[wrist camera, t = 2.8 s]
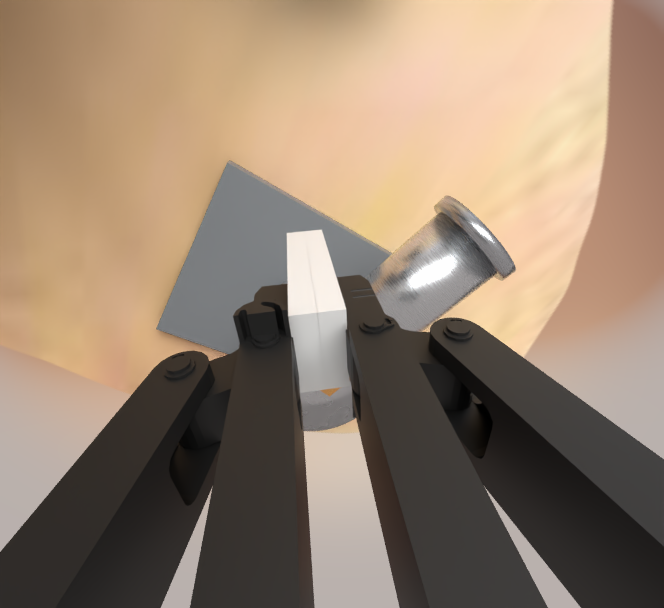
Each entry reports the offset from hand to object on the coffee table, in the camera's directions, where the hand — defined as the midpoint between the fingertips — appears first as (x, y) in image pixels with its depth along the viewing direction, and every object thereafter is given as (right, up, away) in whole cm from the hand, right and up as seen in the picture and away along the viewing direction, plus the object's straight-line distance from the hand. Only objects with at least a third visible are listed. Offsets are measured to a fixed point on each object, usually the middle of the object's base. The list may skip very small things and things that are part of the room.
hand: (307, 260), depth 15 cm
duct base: (-1, -2, +17) cm, 17 cm away
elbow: (+3, -2, +10) cm, 11 cm away
